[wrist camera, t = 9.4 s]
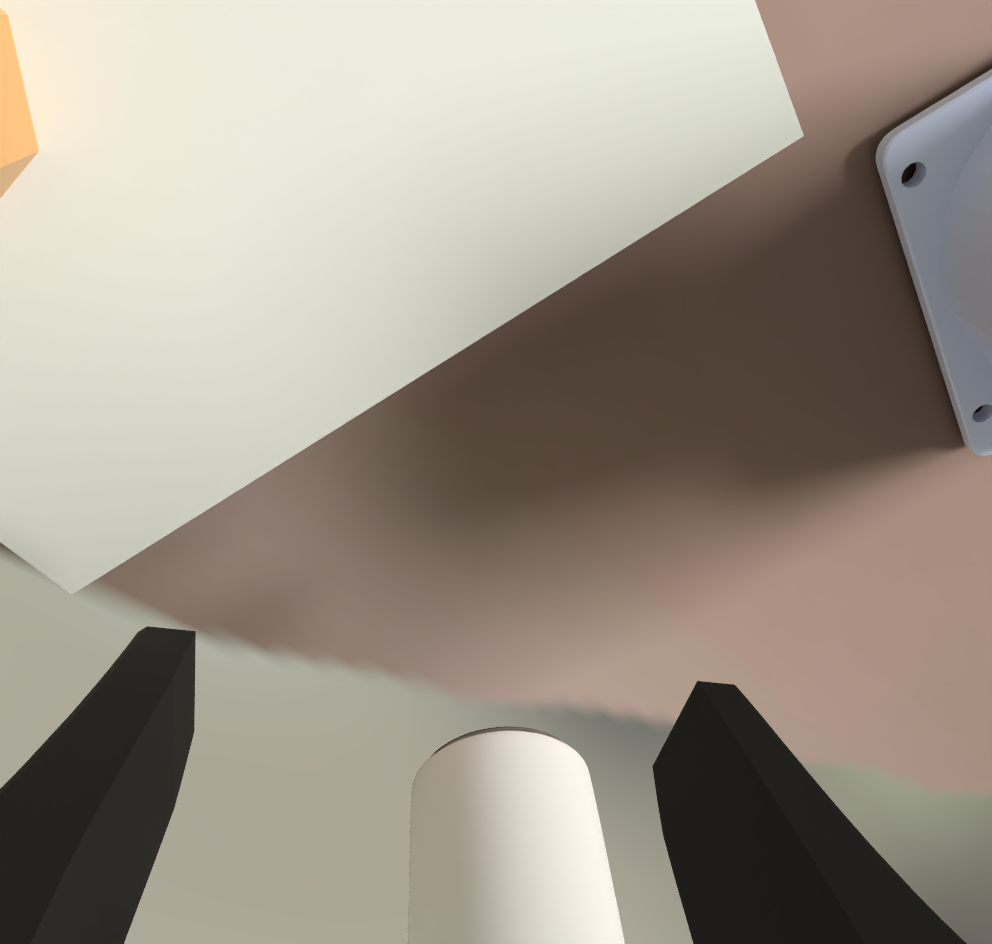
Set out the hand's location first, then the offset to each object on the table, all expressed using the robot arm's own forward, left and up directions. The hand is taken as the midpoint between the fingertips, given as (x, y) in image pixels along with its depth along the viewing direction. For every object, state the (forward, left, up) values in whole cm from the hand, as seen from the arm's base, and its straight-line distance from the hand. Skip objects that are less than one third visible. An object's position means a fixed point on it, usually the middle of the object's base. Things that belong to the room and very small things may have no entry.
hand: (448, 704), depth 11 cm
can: (-14, +7, -10) cm, 18 cm away
